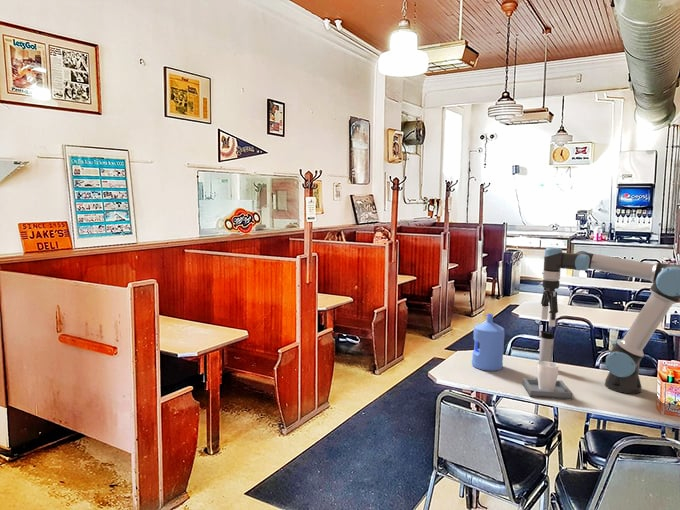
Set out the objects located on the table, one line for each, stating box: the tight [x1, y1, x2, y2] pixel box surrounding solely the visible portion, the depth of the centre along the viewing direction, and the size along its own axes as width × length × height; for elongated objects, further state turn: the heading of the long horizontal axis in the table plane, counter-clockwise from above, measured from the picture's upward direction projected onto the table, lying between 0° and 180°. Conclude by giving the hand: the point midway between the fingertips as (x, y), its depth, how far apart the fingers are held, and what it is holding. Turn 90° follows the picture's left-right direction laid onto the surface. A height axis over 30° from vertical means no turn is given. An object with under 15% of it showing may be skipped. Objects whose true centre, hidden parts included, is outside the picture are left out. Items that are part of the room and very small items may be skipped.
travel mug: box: [538, 330, 555, 362], centre depth 264 cm, size 6×7×20 cm
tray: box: [521, 377, 573, 400], centre depth 233 cm, size 18×16×3 cm
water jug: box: [471, 313, 505, 372], centre depth 264 cm, size 16×16×28 cm
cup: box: [536, 361, 559, 391], centre depth 232 cm, size 9×9×12 cm
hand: (548, 322), depth 245 cm, fingers open, 13 cm apart
